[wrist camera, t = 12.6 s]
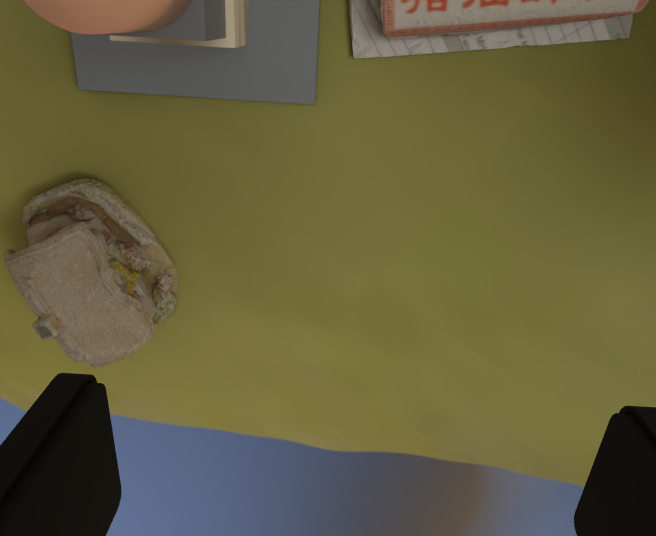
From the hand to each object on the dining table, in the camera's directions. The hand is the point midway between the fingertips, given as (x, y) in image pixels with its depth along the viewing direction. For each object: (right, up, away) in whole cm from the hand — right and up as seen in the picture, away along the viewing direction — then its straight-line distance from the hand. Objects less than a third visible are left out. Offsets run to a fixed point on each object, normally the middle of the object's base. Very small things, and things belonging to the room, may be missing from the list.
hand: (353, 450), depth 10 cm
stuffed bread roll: (-19, +4, +33) cm, 38 cm away
